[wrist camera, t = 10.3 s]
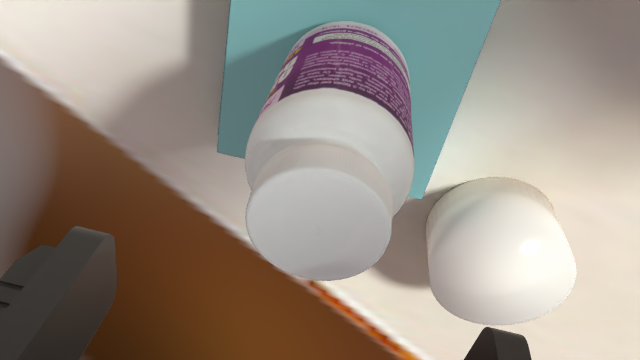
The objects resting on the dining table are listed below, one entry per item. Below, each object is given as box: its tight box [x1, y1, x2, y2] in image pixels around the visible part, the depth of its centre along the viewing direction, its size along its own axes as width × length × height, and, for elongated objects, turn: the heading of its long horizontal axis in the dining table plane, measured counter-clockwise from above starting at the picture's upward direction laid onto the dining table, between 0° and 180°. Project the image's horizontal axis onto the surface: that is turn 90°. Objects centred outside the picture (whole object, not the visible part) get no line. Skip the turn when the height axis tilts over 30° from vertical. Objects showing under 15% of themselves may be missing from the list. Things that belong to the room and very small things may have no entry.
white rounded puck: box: [426, 177, 577, 325], centre depth 27 cm, size 7×7×4 cm
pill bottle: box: [245, 21, 414, 281], centre depth 18 cm, size 5×5×10 cm
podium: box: [217, 0, 501, 200], centre depth 23 cm, size 11×11×3 cm
